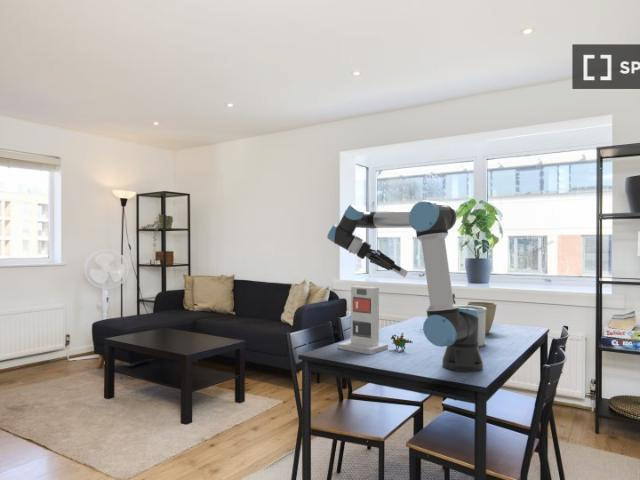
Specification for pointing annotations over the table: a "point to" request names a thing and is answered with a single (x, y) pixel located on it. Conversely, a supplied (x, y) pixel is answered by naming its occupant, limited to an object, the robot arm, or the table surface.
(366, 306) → the red rocker
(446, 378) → the table surface
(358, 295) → the rocker switch stand
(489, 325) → the plant pot
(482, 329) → the utensil holder
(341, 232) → the robot arm
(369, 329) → the black rocker
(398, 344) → the figurine
